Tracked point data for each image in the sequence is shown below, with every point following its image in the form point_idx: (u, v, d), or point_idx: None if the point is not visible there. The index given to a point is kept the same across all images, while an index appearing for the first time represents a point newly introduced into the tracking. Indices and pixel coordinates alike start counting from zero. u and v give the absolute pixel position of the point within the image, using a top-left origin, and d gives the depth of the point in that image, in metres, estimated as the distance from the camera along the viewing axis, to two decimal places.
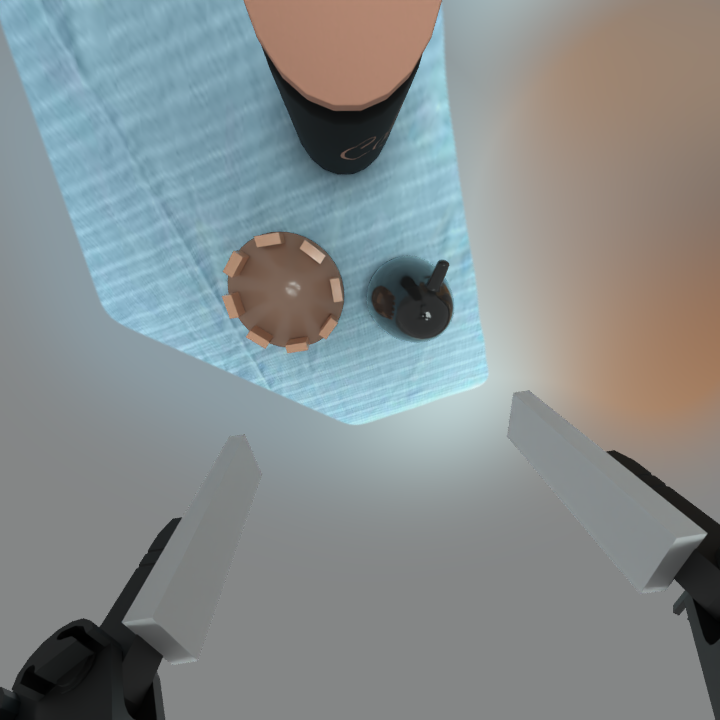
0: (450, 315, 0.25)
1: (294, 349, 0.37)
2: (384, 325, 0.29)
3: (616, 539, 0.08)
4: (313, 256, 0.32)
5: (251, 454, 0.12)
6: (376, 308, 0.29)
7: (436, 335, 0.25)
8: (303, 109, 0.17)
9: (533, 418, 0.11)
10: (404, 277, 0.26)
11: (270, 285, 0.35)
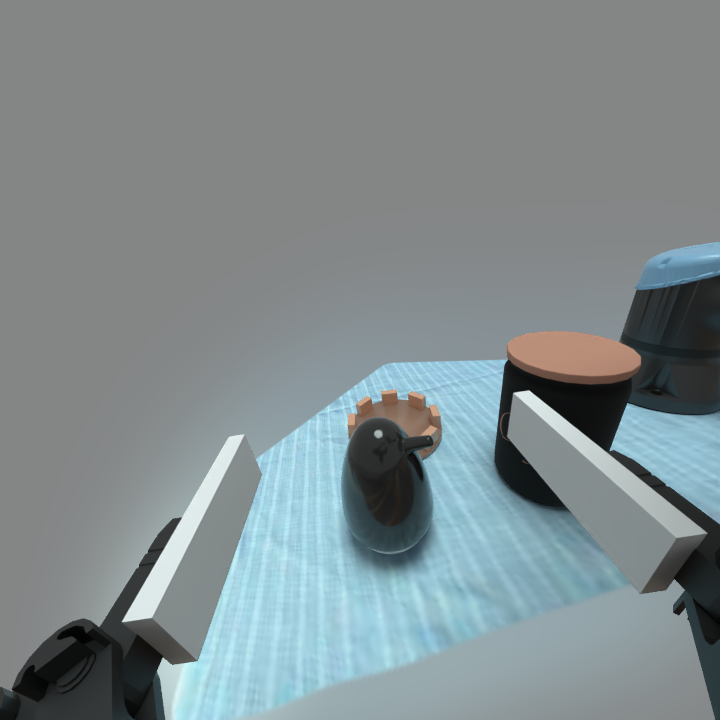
0: (376, 449, 0.23)
1: (350, 418, 0.44)
2: None
3: (616, 539, 0.08)
4: (425, 432, 0.39)
5: (251, 454, 0.12)
6: None
7: (357, 437, 0.24)
8: (506, 363, 0.30)
9: (533, 418, 0.11)
10: None
11: (401, 418, 0.46)
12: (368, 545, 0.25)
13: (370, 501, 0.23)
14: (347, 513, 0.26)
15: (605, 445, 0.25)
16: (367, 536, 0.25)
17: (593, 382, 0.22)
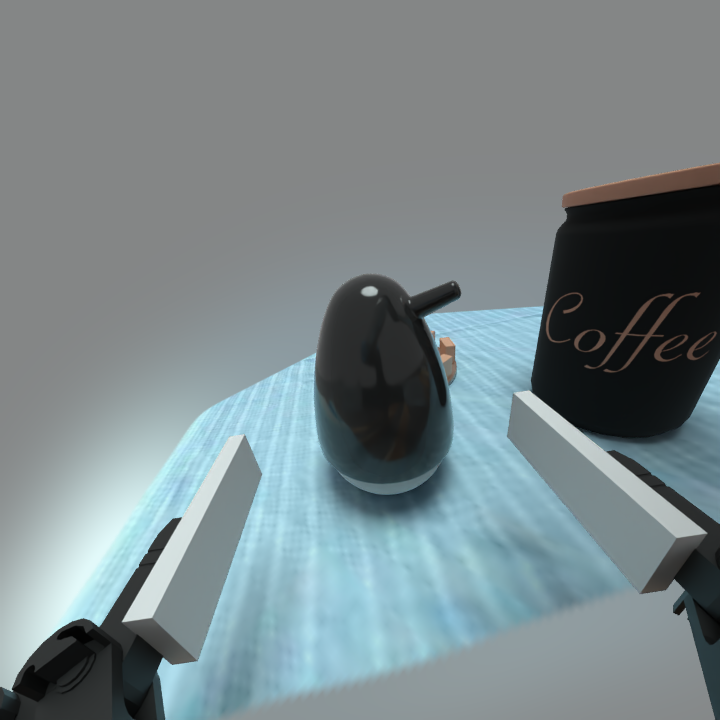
0: (364, 300, 0.14)
1: None
2: None
3: (616, 539, 0.08)
4: None
5: (251, 454, 0.12)
6: None
7: (335, 294, 0.15)
8: (557, 233, 0.21)
9: (533, 419, 0.11)
10: None
11: None
12: (352, 474, 0.16)
13: (354, 391, 0.14)
14: (321, 428, 0.17)
15: None
16: (350, 458, 0.15)
17: None
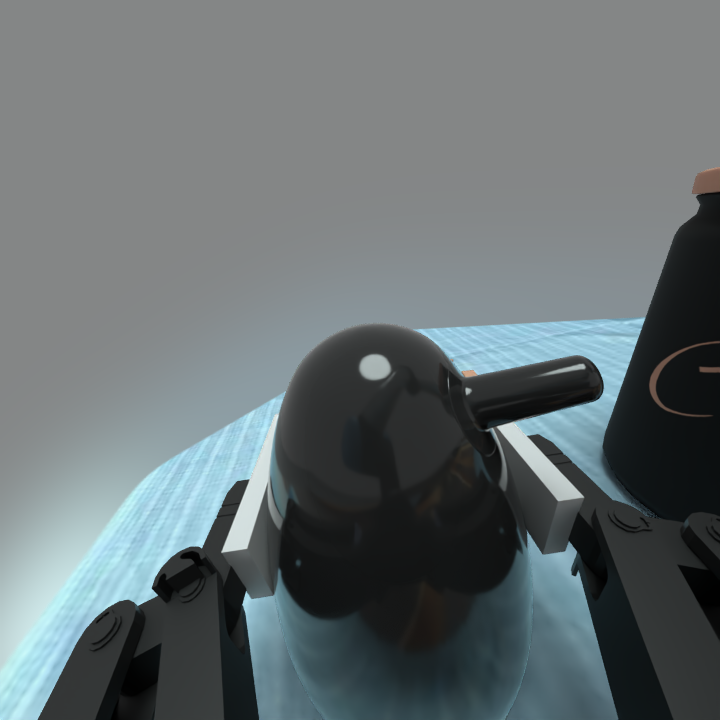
0: (363, 409, 0.05)
1: None
2: None
3: (527, 509, 0.09)
4: None
5: None
6: None
7: (299, 375, 0.07)
8: (676, 236, 0.13)
9: None
10: None
11: None
12: None
13: (340, 620, 0.06)
14: (279, 619, 0.09)
15: None
16: (335, 718, 0.07)
17: None
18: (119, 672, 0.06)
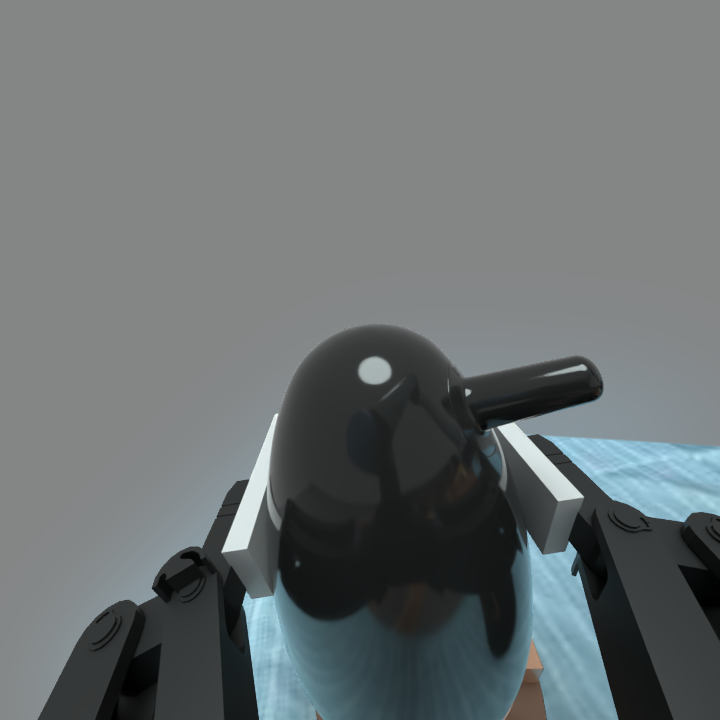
0: (362, 410, 0.05)
1: None
2: None
3: (527, 509, 0.09)
4: None
5: None
6: None
7: (298, 375, 0.07)
8: None
9: None
10: None
11: None
12: None
13: (339, 621, 0.06)
14: (279, 620, 0.09)
15: None
16: (334, 719, 0.07)
17: None
18: (119, 673, 0.06)
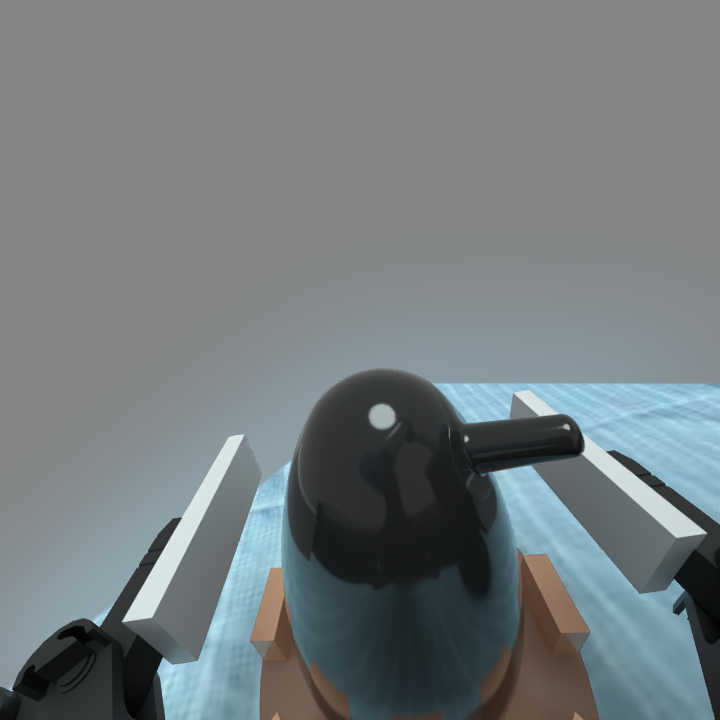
0: (375, 462, 0.06)
1: (270, 592, 0.14)
2: None
3: (616, 539, 0.08)
4: None
5: (251, 454, 0.12)
6: None
7: (315, 421, 0.08)
8: None
9: None
10: None
11: None
12: None
13: (351, 645, 0.07)
14: None
15: None
16: None
17: None
18: None
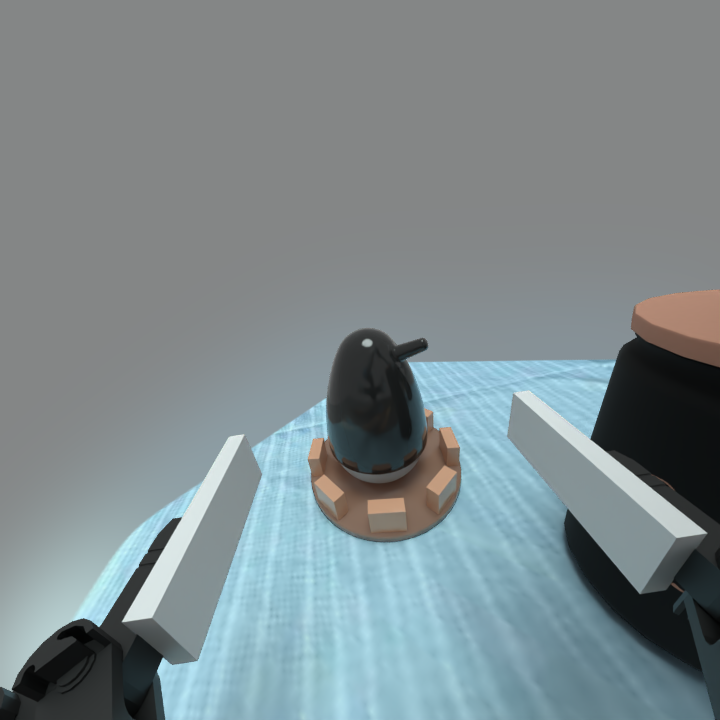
0: (363, 351, 0.20)
1: (314, 445, 0.28)
2: None
3: (616, 539, 0.08)
4: (435, 479, 0.22)
5: (251, 454, 0.12)
6: None
7: (343, 344, 0.22)
8: (618, 358, 0.14)
9: (533, 419, 0.11)
10: None
11: None
12: (354, 468, 0.23)
13: (356, 411, 0.21)
14: (332, 435, 0.23)
15: None
16: (353, 456, 0.22)
17: None
18: None
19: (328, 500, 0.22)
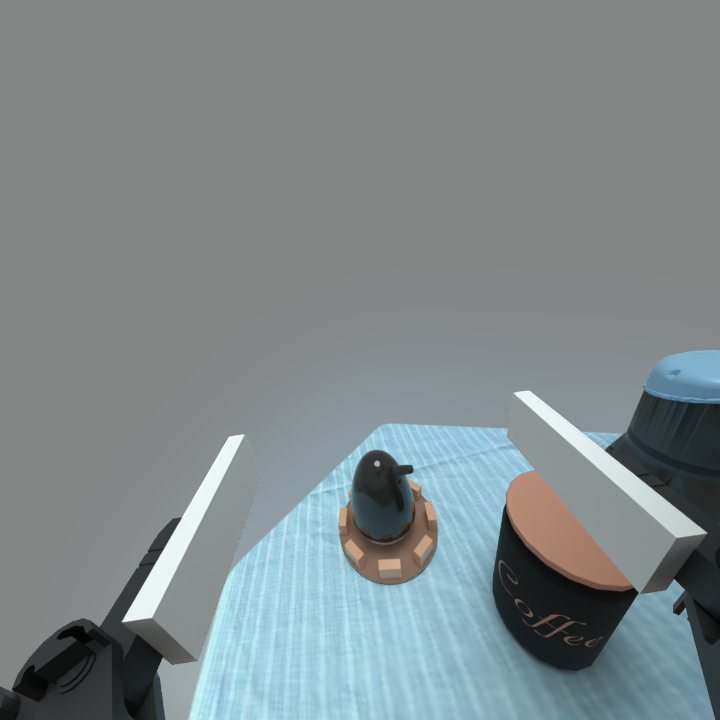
0: (375, 474, 0.35)
1: (341, 514, 0.42)
2: None
3: (616, 539, 0.08)
4: (419, 545, 0.36)
5: (251, 454, 0.12)
6: None
7: (363, 465, 0.36)
8: (505, 504, 0.28)
9: (533, 419, 0.11)
10: None
11: None
12: (369, 538, 0.37)
13: (371, 508, 0.35)
14: (355, 516, 0.38)
15: (613, 629, 0.23)
16: (369, 532, 0.36)
17: (602, 588, 0.20)
18: None
19: (354, 558, 0.37)
